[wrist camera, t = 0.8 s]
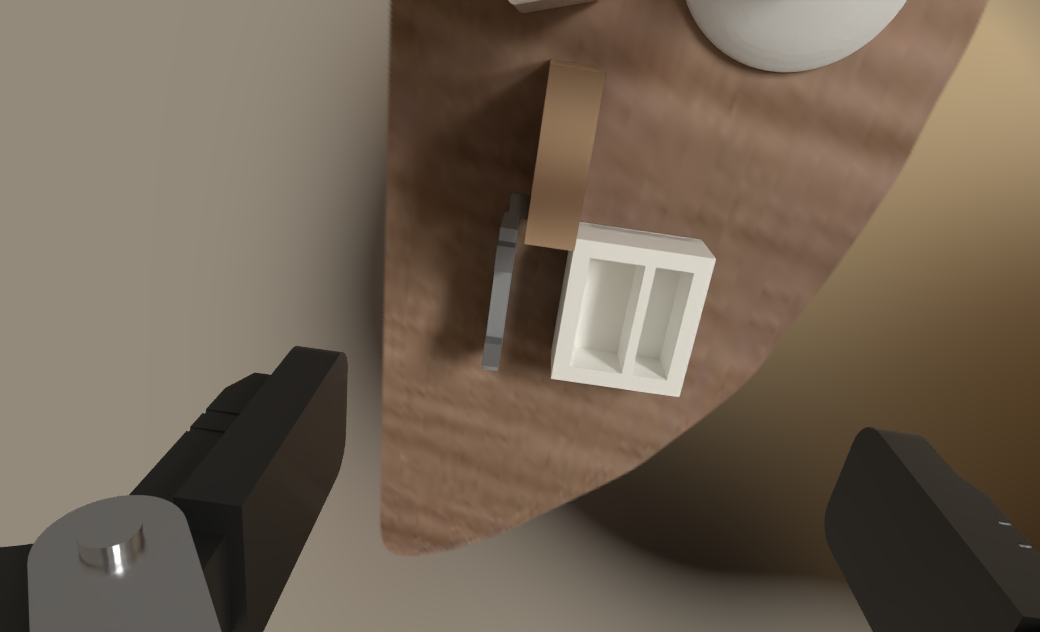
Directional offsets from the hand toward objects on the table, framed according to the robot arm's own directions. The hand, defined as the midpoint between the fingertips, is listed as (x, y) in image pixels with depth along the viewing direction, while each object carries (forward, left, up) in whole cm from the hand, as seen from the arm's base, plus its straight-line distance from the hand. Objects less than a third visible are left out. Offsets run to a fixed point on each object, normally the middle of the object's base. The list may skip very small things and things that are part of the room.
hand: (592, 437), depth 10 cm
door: (-1, 0, -31) cm, 31 cm away
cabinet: (+9, +3, -31) cm, 33 cm away
